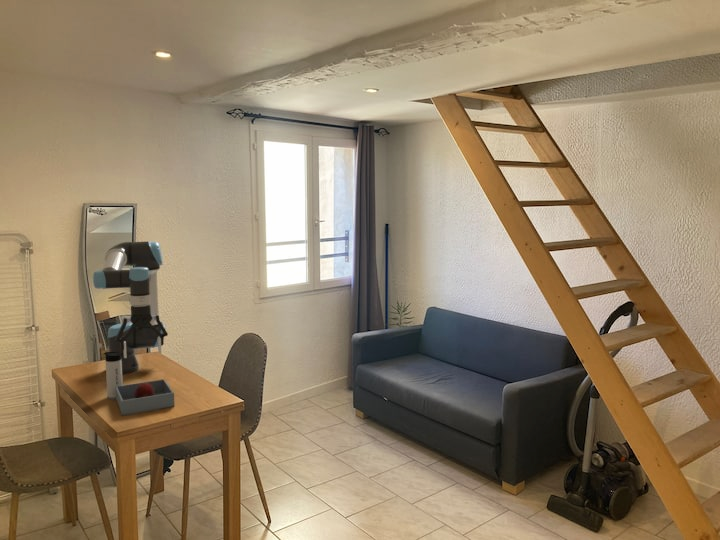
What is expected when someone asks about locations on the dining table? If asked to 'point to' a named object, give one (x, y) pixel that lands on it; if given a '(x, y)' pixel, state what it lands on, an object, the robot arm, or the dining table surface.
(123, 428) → the dining table surface
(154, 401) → the tub
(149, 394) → the apple
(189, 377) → the dining table surface
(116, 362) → the travel mug
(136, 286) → the robot arm
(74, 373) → the dining table surface
